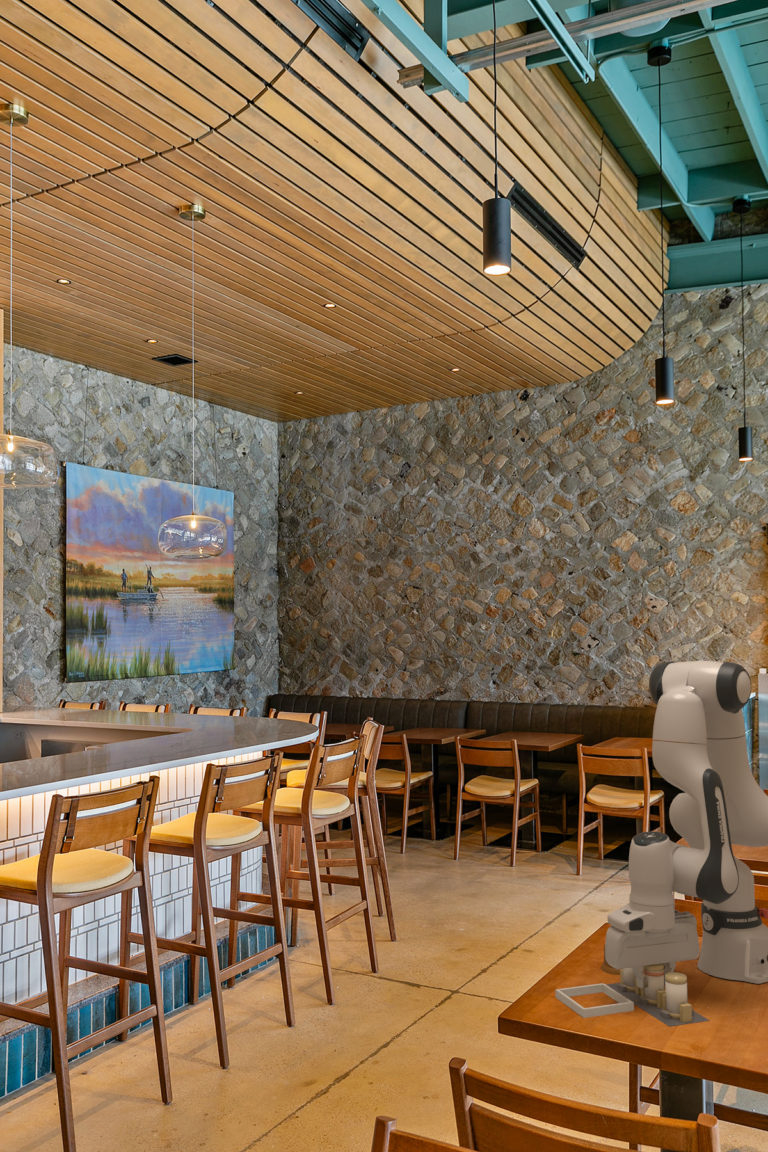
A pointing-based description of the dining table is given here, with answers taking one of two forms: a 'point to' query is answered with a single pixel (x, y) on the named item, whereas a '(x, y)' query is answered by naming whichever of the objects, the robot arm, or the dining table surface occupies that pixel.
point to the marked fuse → (653, 982)
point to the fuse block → (658, 1005)
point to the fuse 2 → (675, 993)
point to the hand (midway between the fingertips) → (653, 985)
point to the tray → (622, 1006)
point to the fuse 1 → (629, 979)
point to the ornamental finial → (609, 967)
